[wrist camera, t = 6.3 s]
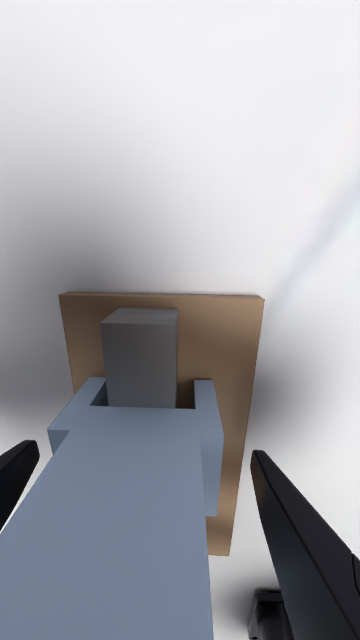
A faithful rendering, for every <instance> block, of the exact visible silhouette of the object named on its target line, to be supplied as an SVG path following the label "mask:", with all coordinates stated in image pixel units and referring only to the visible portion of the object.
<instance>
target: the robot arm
mask: <svg viewBox="0 0 360 640" xmlns="http://www.w3.org/2000/svg"><path fill="white" fill-rule="evenodd" d="M39 457H40V454H39V450H38V446H37V442H36V441H35V440H24V441H22V442H21V443H19V444H18V445H16V446H15V447H13V448H11V449H10V450H8V451H7V452H5V453H4V454H2V455H1V456H0V531H1V529H2V527H3V526H4V524H5V522H6V521H7V519H8V517H9V516H10V514H11V512H12V511H13V509H14V507H15V506H16V504H17V502H18V500H19V498H20V496H21V494H22V492H23V490H24V488H25V486H26V485H27V483H28V481H29V479H30V477H31V475H32V473H33V471H34V469H35V467H36V465H37V463H38V461H39ZM250 469H251V475H252V480H253V485H254V490H255V495H256V500H257V505H258V510H259V515H260V519H261V523H262V527H263V530H264V534H265V537H266V541H267V544H268V548H269V551H270V554H271V558H272V561H273V565H274V568H275V572H276V575H277V579H278V582H279V586H280V589H281V592H282V594H281V593H266V592H260V593H257V594H256V595H255V599H254V604H253V608H252V613H251V617H250V622H249V626H248V635H249V639H250V640H360V560H359V559H358V558H357V557H356V556H355V554H353V553H352V552H351V550H350V549H349V548H348V546H347V545H346V544H345V543H344V542H343V541H342V540H341V538H340V537H339V536H338V535H337V534H336V533H335V532H334V530H333V529H332V528H331V527H330V526H329V525H328V524H327V522H326V521H325V520H324V519H323V518H322V517H321V516H320V514H319V513H318V512H317V511H316V510H315V509H314V508H313V506H312V505H311V504H310V503H309V502H308V501H307V500H306V498H305V497H304V496H303V495H302V494H301V493H300V491H299V490H298V489H297V488H296V487H295V486H294V485H293V483H292V482H291V481H290V480H289V479H288V478H287V477H286V475H285V474H284V473H283V472H282V471H281V470H280V469H279V467H278V466H277V465H276V464H275V463H274V462H273V461H272V459H271V458H270V457H269V456H268V455H267V454H266V453H265V452H264V451H263V450H253V452H252V457H251V464H250Z"/></svg>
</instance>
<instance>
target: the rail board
mask: <svg viewBox="0 0 360 640" xmlns="http://www.w3.org/2000/svg"><path fill="white" fill-rule="evenodd" d="M59 301H60V307H61V313H62V319H63V325H64V331H65V338H66V344H67V350H68V356H69V362H70V368H71V374H72V380H73V386H74V392H75V394H76V393H77V392H78V391H79V389H80V388H81V387H82V386H83V384H84V383H85V382H86V381H87V379H88V378H89V377H106V385H107V395H108V404H109V407H140V408H171V409H193V401H194V380H213V383H214V388H215V393H216V398H217V403H218V408H219V413H220V418H221V423H222V428H223V433H224V443H223V454H222V465H221V476H220V487H219V498H218V509H217V517H215V516H205V519H206V534H207V549H208V555H218V556H229V552H230V545H231V538H232V531H233V524H234V516H235V509H236V502H237V495H238V488H239V480H240V473H241V466H242V459H243V452H244V445H245V437H246V430H247V423H248V416H249V409H250V402H251V394H252V387H253V380H254V373H255V366H256V359H257V351H258V344H259V337H260V330H261V323H262V315H263V308H264V301H265V299H263V298H262V297H260V296H244V295H195V294H147V293H98V292H67V293H63V294H60V295H59Z"/></svg>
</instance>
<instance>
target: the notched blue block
mask: <svg viewBox="0 0 360 640" xmlns="http://www.w3.org/2000/svg"><path fill="white" fill-rule="evenodd" d="M47 431H48V435H49V440H50V444H51V448H52V453H53V457H52V458H51V459H50V461H49V462H48V464H47V465H46V467H45V468H44V470H43V471H42V473H41V474H40V476H39V477H38V479H37V480H36V482H35V483H34V485H33V486H32V488H31V489H30V491H29V492H28V494H27V495H26V497H25V498H24V500H23V501H22V503H21V504H20V506H19V507H18V509H17V510H16V512H15V513H14V515H13V516H12V517H11V519H10V520H9V522H8V523H7V525H6V526H5V528H4V529H3V531H2V532H1V534H0V640H214V639H213V624H212V609H211V594H210V579H209V564H208V549H207V534H206V519H205V516H215V517H217V509H218V498H219V487H220V476H221V465H222V454H223V443H224V433H223V428H222V423H221V418H220V413H219V408H218V403H217V398H216V393H215V388H214V383H213V380H194V401H193V409H171V408H140V407H109V404H108V395H107V385H106V377H89V378H88V379H87V381H86V382H85V383H84V384H83V386H82V387H81V388H80V389H79V391H78V392H77V393H76V394H75V396H74V397H73V398H72V399H71V401H70V402H69V403H68V404H67V405H66V407H65V408H64V409H63V410H62V412H61V413H60V414H59V415H58V417H57V418H56V419H55V420H54V422H53V423H52V424H51V425H50V427H49V428H48V429H47Z"/></svg>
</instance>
